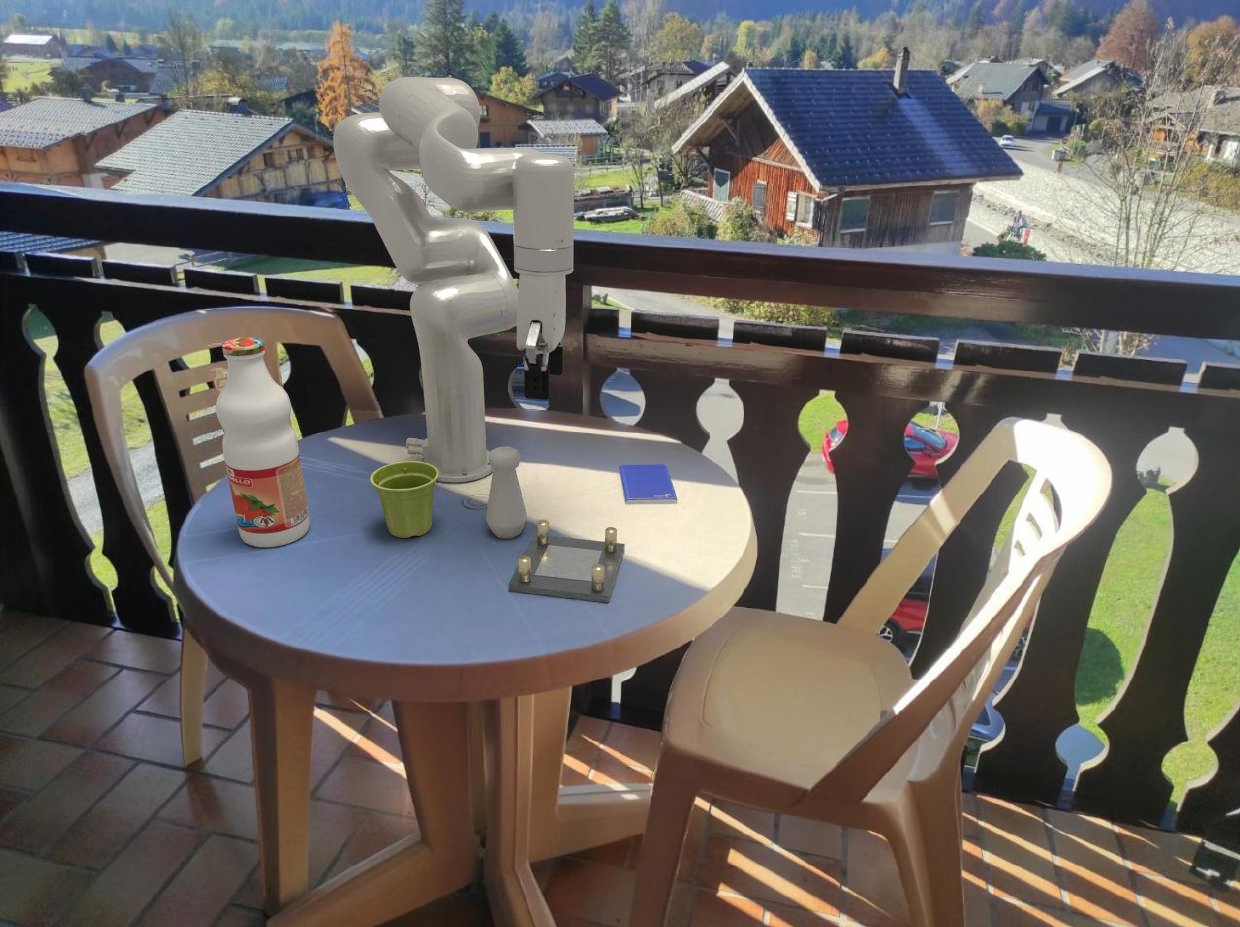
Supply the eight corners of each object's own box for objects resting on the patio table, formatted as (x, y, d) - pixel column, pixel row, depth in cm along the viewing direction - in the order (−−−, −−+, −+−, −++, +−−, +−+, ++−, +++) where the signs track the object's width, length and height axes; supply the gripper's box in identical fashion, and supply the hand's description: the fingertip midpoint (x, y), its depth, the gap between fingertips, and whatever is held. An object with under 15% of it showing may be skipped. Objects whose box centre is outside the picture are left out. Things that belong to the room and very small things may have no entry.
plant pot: (362, 537, 115) (355, 482, 111) (400, 508, 123) (395, 456, 119) (419, 550, 112) (414, 495, 108) (454, 519, 120) (451, 467, 116)
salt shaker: (482, 525, 119) (478, 444, 113) (520, 518, 121) (517, 439, 115) (493, 544, 114) (489, 461, 108) (532, 537, 116) (530, 455, 110)
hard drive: (677, 497, 126) (666, 463, 137) (625, 498, 125) (619, 464, 137) (677, 506, 127) (666, 472, 138) (625, 507, 126) (618, 472, 137)
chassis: (508, 590, 104) (507, 564, 102) (534, 540, 115) (534, 515, 114) (608, 602, 102) (609, 576, 100) (624, 549, 114) (625, 525, 112)
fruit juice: (321, 534, 115) (293, 344, 103) (254, 556, 109) (216, 358, 97) (295, 509, 121) (265, 328, 109) (230, 529, 116) (191, 340, 104)
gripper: (529, 244, 111) (530, 363, 118) (497, 271, 95) (502, 406, 103) (583, 247, 110) (581, 367, 118) (560, 275, 95) (560, 411, 102)
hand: (544, 385), depth 110 cm, fingers open, 9 cm apart
